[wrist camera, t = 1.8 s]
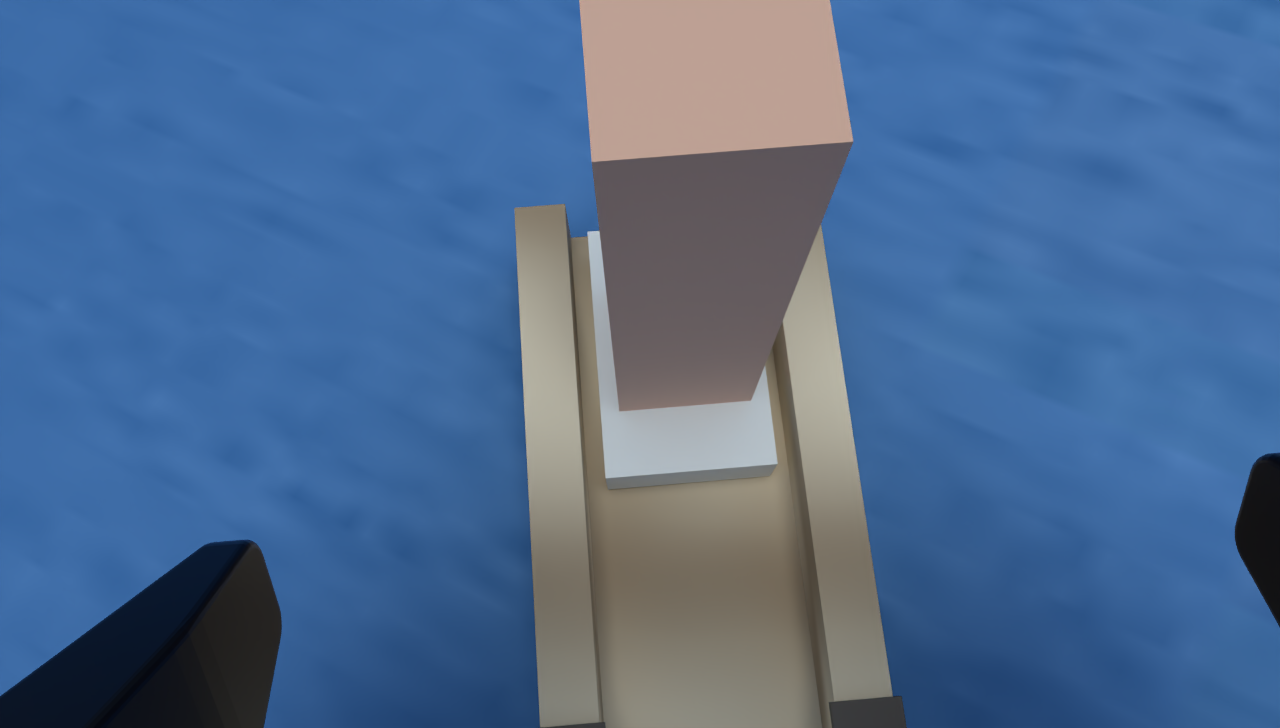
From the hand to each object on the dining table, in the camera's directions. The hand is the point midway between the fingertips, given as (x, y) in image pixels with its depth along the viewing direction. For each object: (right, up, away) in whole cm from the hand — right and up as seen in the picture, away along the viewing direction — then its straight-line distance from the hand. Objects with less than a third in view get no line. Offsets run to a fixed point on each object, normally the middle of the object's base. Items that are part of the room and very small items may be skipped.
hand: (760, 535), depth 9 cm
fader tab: (0, +2, +11) cm, 11 cm away
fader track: (0, -4, +11) cm, 11 cm away
